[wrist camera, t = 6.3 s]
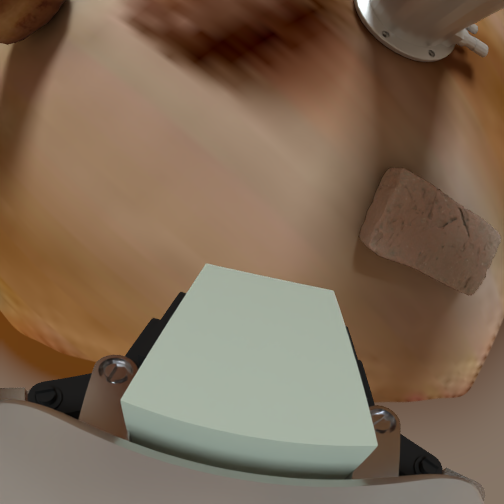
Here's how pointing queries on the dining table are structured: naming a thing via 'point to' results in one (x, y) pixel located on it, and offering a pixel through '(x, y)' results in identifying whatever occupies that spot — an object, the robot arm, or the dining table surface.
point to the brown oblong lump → (24, 17)
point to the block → (253, 381)
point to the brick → (429, 231)
